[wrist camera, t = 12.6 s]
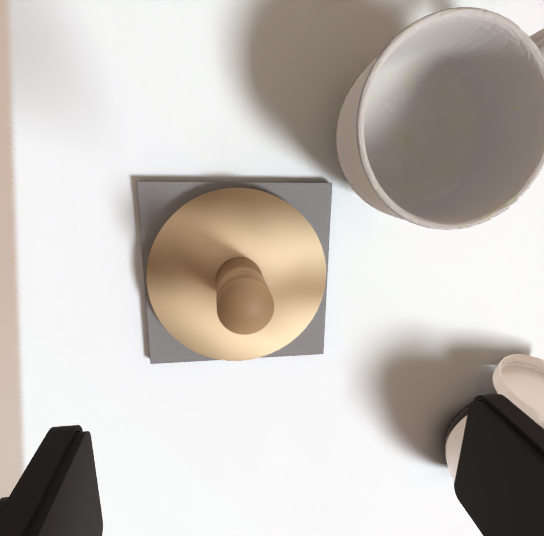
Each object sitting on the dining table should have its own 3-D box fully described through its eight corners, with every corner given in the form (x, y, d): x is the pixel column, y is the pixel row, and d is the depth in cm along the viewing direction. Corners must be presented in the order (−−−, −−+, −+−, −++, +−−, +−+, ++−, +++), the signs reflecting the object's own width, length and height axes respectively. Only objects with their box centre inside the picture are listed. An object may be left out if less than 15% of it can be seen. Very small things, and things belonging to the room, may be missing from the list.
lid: (143, 185, 25) (120, 192, 19) (328, 189, 27) (362, 196, 21) (153, 359, 28) (136, 413, 22) (318, 351, 30) (345, 399, 24)
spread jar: (442, 483, 36) (545, 625, 25) (414, 386, 33) (516, 499, 22) (557, 433, 37) (708, 550, 25) (540, 333, 33) (704, 417, 22)
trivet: (138, 181, 25) (137, 181, 25) (329, 182, 27) (332, 183, 27) (151, 359, 29) (150, 363, 28) (321, 350, 31) (323, 354, 30)
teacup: (354, 238, 29) (405, 264, 21) (293, 95, 25) (327, 64, 18) (519, 153, 29) (629, 148, 21) (478, 0, 26) (591, -70, 18)
